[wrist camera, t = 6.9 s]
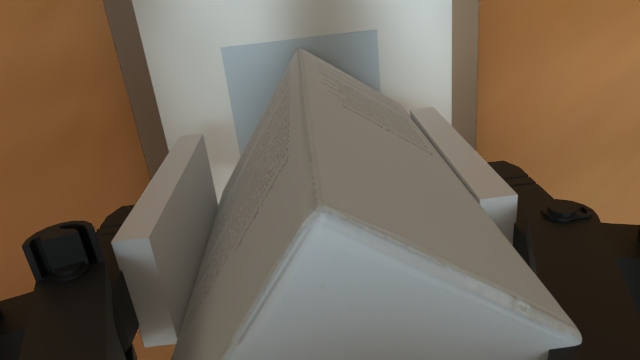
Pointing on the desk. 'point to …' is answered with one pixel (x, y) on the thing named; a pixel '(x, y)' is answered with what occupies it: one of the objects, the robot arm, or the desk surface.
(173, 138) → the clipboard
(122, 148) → the desk surface
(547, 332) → the skincare box
